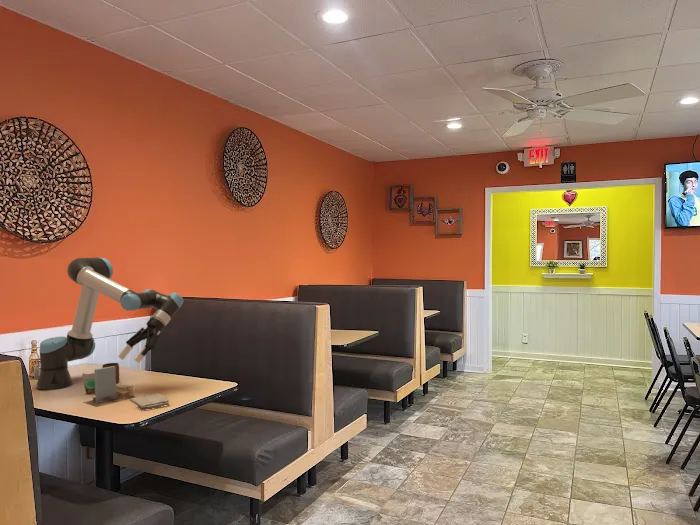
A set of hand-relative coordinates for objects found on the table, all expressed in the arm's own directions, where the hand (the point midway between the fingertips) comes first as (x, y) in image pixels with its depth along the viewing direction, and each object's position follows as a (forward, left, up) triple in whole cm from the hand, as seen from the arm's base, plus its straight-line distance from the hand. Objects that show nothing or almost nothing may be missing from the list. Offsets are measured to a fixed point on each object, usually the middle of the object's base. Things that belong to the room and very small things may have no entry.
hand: (128, 359), depth 231 cm
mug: (-23, -25, -17) cm, 38 cm away
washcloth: (+8, +15, -18) cm, 25 cm away
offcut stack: (+2, -1, -16) cm, 16 cm away
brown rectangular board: (+7, -4, -17) cm, 19 cm away
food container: (-3, -19, -17) cm, 26 cm away
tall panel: (+9, -5, -16) cm, 19 cm away
